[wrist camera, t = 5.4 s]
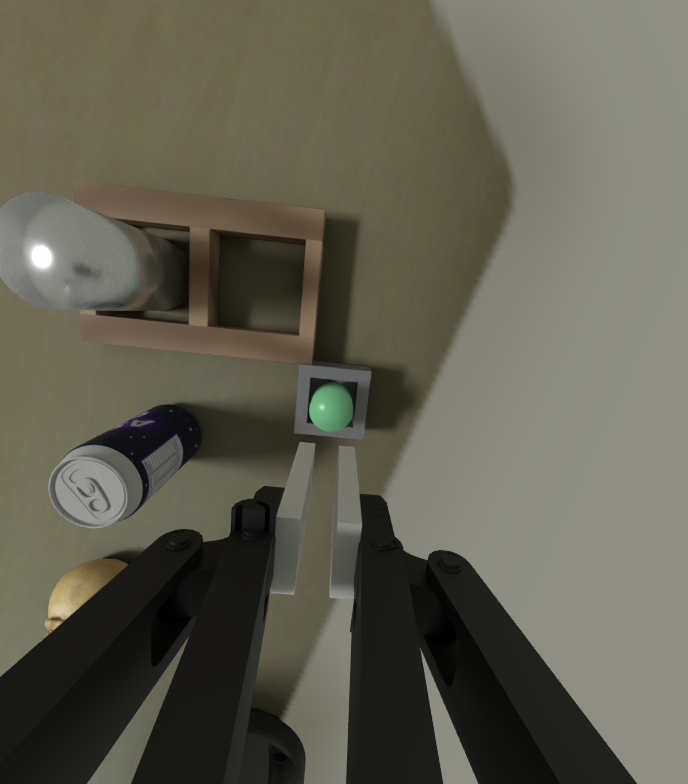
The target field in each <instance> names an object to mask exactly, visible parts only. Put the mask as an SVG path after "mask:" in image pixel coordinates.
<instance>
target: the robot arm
mask: <svg viewBox="0 0 688 784" xmlns="http://www.w3.org/2000/svg"><path fill="white" fill-rule="evenodd" d="M314 454H315V443H306V442H300V443H299V446H298V449H297V452H296V456H295V459H294V462H293V465H292V468H291V471H290V475H289V478H288V481H287V484H286V487H285V488H281V487H270V486H264V487H262V488H261V489H260V490H258V491H257V492H256V494H255V496H254V498H253V499H247V500H242V501H240V502H238V503H236V504H235V505H234V506H233V507H232V512H231V532H230V535H229V537H227V538H224V539H221V540H216V541H208V542H203V538H202V535H201V534H200V533H199V532H197V531H194V530H189V529H180V530H174V531H171V532H168V533H165V534H164V535H162V536H161V537H159V538H158V539H157V540H156V541H155V542H153V543H152V544H151V545H150V546H149V547H148V548H147V549H145V550H144V551H143V552H142V553H141V554H140V555H139V556H137V557H136V558H135V559H134V560H133V561H132V562H131V563H130V564H128V565H127V566H126V567H125V568H124V569H123V570H122V571H120V572H119V573H118V574H117V575H116V576H115V577H114V578H112V579H111V580H110V581H109V582H108V583H107V584H106V585H104V586H103V587H102V588H101V589H100V590H99V591H98V592H97V593H95V594H94V595H93V596H92V597H91V598H90V599H89V600H87V601H86V602H85V603H84V604H83V605H82V606H81V607H79V608H78V609H77V610H76V611H75V612H74V613H73V614H71V615H70V616H69V617H68V618H67V619H66V620H65V621H64V622H62V623H61V624H60V625H59V626H58V627H57V628H56V629H54V630H53V631H52V632H51V633H50V634H49V635H48V636H46V637H45V638H44V639H43V640H42V641H41V642H40V643H38V644H37V645H36V646H35V647H34V648H33V649H32V650H31V651H29V652H28V653H27V654H26V655H25V656H24V657H23V658H21V659H20V660H19V661H18V662H17V663H16V664H15V665H13V666H12V667H11V668H10V669H9V670H8V671H7V672H5V673H4V674H3V675H2V676H1V677H0V784H87V783H88V781H89V780H90V778H91V777H92V776H93V774H94V773H95V771H96V770H97V768H98V767H99V765H100V764H101V763H102V761H103V760H104V758H105V757H106V755H107V754H108V752H109V751H110V750H111V748H112V747H113V745H114V744H115V742H116V741H117V739H118V738H119V736H120V735H121V734H122V732H123V731H124V729H125V728H126V726H127V725H128V723H129V722H130V721H131V719H132V718H133V716H134V715H135V713H136V712H137V710H138V709H139V708H140V706H141V705H142V703H143V702H144V700H145V699H146V697H147V696H148V694H149V693H150V692H151V690H152V689H153V687H154V686H155V684H156V683H157V681H158V680H159V679H160V677H161V676H162V674H163V673H164V671H165V670H166V668H167V667H168V666H169V664H170V663H171V661H172V660H173V658H174V657H175V655H176V654H177V652H178V651H179V650H180V648H181V647H182V645H183V644H184V642H185V641H186V639H187V638H188V637H189V639H188V641H187V644H186V646H185V649H184V651H183V654H182V656H181V659H180V661H179V664H178V666H177V669H176V672H175V674H174V677H173V679H172V682H171V684H170V687H169V689H168V692H167V694H166V697H165V699H164V702H163V704H162V707H161V709H160V712H159V715H158V717H157V720H156V722H155V725H154V727H153V730H152V732H151V735H150V737H149V740H148V742H147V745H146V747H145V750H144V752H143V755H142V757H141V760H140V763H139V765H138V768H137V770H136V773H135V775H134V778H133V780H132V783H131V784H304V773H305V751H304V748H303V745H302V743H301V741H300V739H299V737H298V736H297V735H296V733H295V732H294V731H293V730H292V729H291V728H290V727H289V726H288V725H286V724H285V723H284V722H282V721H281V720H279V719H277V718H275V717H273V716H271V715H269V714H266V713H263V712H260V711H255V710H251V704H252V698H253V692H254V686H255V681H256V675H257V669H258V663H259V657H260V651H261V645H262V639H263V634H264V628H265V622H266V616H267V610H268V603H269V591H270V587H271V593H278V594H290V595H294V593H295V587H296V581H297V575H298V569H299V563H300V557H301V551H302V545H303V539H304V533H305V527H306V520H307V514H308V508H309V502H310V496H311V487H312V476H313V465H314ZM353 593H354V604H353V612H352V619H351V628H350V632H352V639H351V667H350V669H351V670H350V694H349V722H348V749H347V750H348V751H347V776H346V784H443V780H442V774H441V768H440V763H439V756H438V751H437V745H436V740H435V733H434V727H433V721H432V715H431V710H430V704H429V698H428V692H427V686H426V680H425V674H424V668H423V663H422V657H421V650H422V653H423V655H424V657H425V660H426V662H427V664H428V667H429V669H430V671H431V674H432V676H433V678H434V681H435V683H436V685H437V688H438V690H439V692H440V695H441V697H442V699H443V702H444V704H445V706H446V709H447V711H448V713H449V716H450V718H451V721H452V723H453V725H454V728H455V730H456V732H457V735H458V737H459V739H460V742H461V744H462V746H463V749H464V751H465V753H466V756H467V758H468V760H469V762H470V765H471V767H472V770H473V772H474V774H475V777H476V779H477V781H478V784H637V783H636V782H635V780H634V779H633V778H632V776H631V775H630V774H629V773H628V771H627V770H626V769H625V767H624V766H623V765H622V763H621V762H620V761H619V759H618V758H617V757H616V756H615V754H614V753H613V751H612V750H611V749H610V747H608V745H607V744H606V742H605V741H604V740H603V738H602V737H601V736H600V734H599V733H598V732H597V730H596V729H595V728H594V726H593V725H592V724H591V722H590V721H589V720H588V718H587V717H586V716H585V715H584V713H583V712H582V711H581V709H580V708H579V707H578V706H577V704H576V703H575V701H574V700H573V699H572V698H571V696H570V695H569V693H568V692H567V691H566V690H565V688H564V687H563V686H562V684H561V683H560V682H559V680H558V679H557V678H556V676H555V675H554V674H553V672H552V671H551V670H550V668H549V667H548V666H547V665H546V663H545V662H544V660H543V659H542V658H541V657H540V655H539V654H538V653H537V651H536V650H535V649H534V647H533V646H532V645H531V643H530V642H529V641H528V639H527V638H526V637H525V635H524V634H523V633H522V631H521V630H520V629H519V628H518V626H517V625H516V624H515V622H514V621H513V620H512V618H511V617H510V616H509V614H508V613H507V612H506V610H505V609H504V608H503V606H502V605H501V604H500V602H499V601H498V600H497V598H496V597H495V596H494V595H493V593H492V592H491V591H490V589H489V588H488V587H487V585H486V584H485V583H484V581H483V580H482V579H481V577H480V576H479V575H478V574H477V572H476V571H475V570H474V568H473V567H472V566H471V565H470V563H469V562H468V561H467V560H466V559H465V558H463V557H462V556H460V555H458V554H456V553H454V552H450V551H444V550H438V551H434V552H432V553H431V554H429V557H428V560H425V559H422V558H418V557H415V556H413V555H410V554H409V553H407V552H405V551H404V550H403V546H402V544H401V542H400V541H399V540H398V539H397V538H396V537H395V536H394V531H393V527H392V523H391V520H390V515H389V511H388V506H387V502H386V501H385V500H384V499H383V498H382V497H381V496H379V495H368V494H359V487H358V477H357V467H356V457H355V447H348V446H339V451H338V460H337V469H336V479H335V488H334V499H333V523H332V548H331V572H330V597H329V598H339V599H351V600H352V599H353ZM189 635H190V636H189ZM420 648H421V650H420Z"/></svg>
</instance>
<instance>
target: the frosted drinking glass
mask: <svg viewBox="0 0 688 784" xmlns="http://www.w3.org/2000/svg"><path fill="white" fill-rule="evenodd" d="M189 267H190V263H189V261H188V259H187V257H186V256H185V254H184V253H183V252H182V251H181V250H180V249H179V248H178V247H177V246H176V245H175V244H173V243H171V242H169V241H167V240H165V239H162V238H160V237H157V236H155V235H153V234H150V233H148V232H145V231H143V230H140V229H138V228H135V227H133V226H131V225H128V224H126V223H123V222H121V221H118V220H116V219H113V218H111V217H109V216H106V215H104V214H101V213H99V212H96V211H94V210H91V209H89V208H87V207H84V206H82V205H79V204H77V203H74V202H72V201H69V200H67V199H65V198H62V197H60V196H57V195H54V194H51V193H45V192H27V193H23V194H20V195H18V196H15V197H13V198H12V199H10V200H9V201H7V202H6V203H5V204H4V205H3V206H2V207H1V208H0V277H1V279H2V280H3V282H4V283H5V284H6V285H7V286H8V288H9V289H10V290H11V291H12V292H13V293H15V294H16V295H17V296H18V297H20V298H21V299H22V300H24V301H26V302H27V303H29V304H31V305H34V306H36V307H39V308H43V309H48V310H107V311H165V310H170V309H173V308H175V307H177V306H179V305H180V304H181V303H183V302H184V300H185V299H186V298H187V297H188V295H189Z"/></svg>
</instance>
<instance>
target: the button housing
mask: <svg viewBox="0 0 688 784" xmlns="http://www.w3.org/2000/svg"><path fill="white" fill-rule="evenodd" d="M370 380H371V370H370V367H369V366H362V365H352V364H343V363H333V362H323V361H314V362H313V363H312V365H311V364H301V363H300V364H299V374H298V387H297V400H296V413H295V426H294V433H297V434H308V435H318V436H329V437H339V438H350V439H360V440H363V438H364V429H365V421H366V413H367V405H368V396H369V388H370ZM328 382H336V383H340V384H342V385H343V386H345V387H346V388H347V389H348V391H349V392H350V394H351V397H352V405H353V415H352V419H351V421H350V422H349V424H348V425H347V426H346V427H344V428H343V429H341V430H339V431H335V432H328V431H324V430H321V429H320V428H318V427H317V426H316V425H315V424H314V423H313V422H312V420H311V417H310V413H309V408H310V404H311V401H312V398H313V395H314V392H315V391H316V389H317V388H318V387H319V386H321V385H322V384H325V383H328Z"/></svg>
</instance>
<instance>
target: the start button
mask: <svg viewBox="0 0 688 784" xmlns="http://www.w3.org/2000/svg"><path fill="white" fill-rule="evenodd" d="M309 413H310V417H311V420H312V422H313V423H314V424H315V425H316V426H317V427H318V428H320V429H321V430H324V431H328V432H335V431H339V430H341V429H343V428H344V427H346V426H347V425H348V424H349V422H350V421H351V419H352V415H353V405H352V397H351V394H350V392H349V391H348V389H347V388H346V387H345V386H343V385H342V384H340V383H336V382H328V383H325V384H322V385H321V386H319V387H318V388H317V389H316V391H315V392H314V395H313V398H312V401H311V404H310V408H309Z"/></svg>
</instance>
